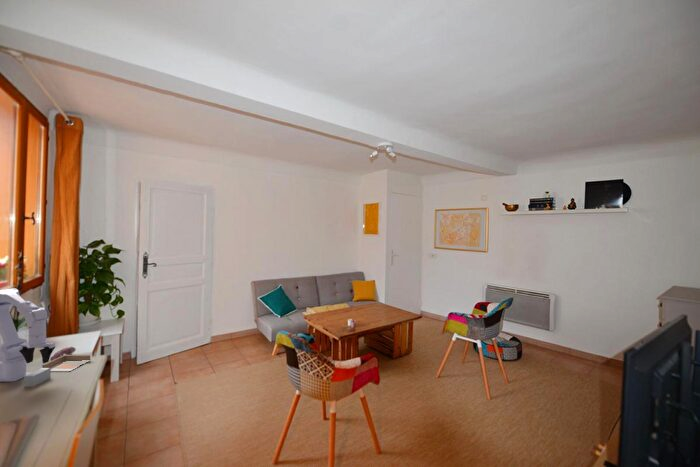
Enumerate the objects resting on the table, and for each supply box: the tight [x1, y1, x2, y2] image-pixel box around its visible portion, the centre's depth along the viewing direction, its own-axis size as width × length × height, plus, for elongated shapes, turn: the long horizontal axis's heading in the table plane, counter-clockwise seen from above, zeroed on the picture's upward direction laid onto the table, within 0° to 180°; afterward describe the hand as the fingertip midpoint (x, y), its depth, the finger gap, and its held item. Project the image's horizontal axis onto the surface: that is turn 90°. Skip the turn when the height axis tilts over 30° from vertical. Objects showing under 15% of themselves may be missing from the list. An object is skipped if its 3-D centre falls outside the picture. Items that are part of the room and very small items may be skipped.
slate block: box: [24, 367, 51, 388], centre depth 142 cm, size 4×8×5 cm, turn 1°
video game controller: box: [49, 346, 77, 361], centre depth 167 cm, size 10×5×7 cm, turn 169°
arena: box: [41, 354, 91, 373], centre depth 158 cm, size 14×12×4 cm
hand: (37, 362), depth 141 cm, fingers open, 7 cm apart
